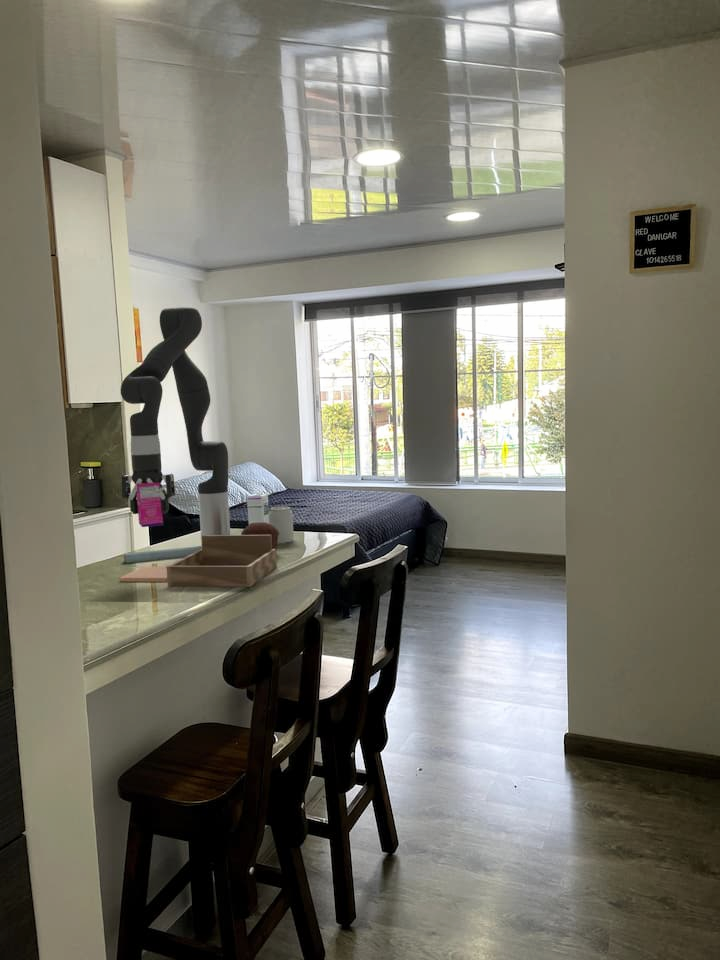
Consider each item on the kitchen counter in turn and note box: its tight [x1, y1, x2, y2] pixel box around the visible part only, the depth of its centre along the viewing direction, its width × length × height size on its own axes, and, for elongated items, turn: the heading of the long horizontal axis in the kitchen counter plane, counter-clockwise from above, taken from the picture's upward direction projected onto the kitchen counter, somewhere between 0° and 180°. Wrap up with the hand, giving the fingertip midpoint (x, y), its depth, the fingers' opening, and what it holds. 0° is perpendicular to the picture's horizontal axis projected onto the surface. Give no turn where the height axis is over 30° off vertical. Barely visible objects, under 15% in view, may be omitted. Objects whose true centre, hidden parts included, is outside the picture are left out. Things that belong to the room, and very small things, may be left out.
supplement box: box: [136, 483, 164, 528], centre depth 198 cm, size 6×6×12 cm
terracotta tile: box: [119, 566, 168, 583], centre depth 200 cm, size 13×13×1 cm
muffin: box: [240, 522, 280, 552], centre depth 220 cm, size 12×11×10 cm
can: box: [269, 506, 295, 544], centre depth 239 cm, size 8×8×12 cm
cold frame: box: [166, 534, 278, 588], centre depth 196 cm, size 22×22×9 cm
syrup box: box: [246, 493, 270, 525], centre depth 254 cm, size 6×6×14 cm
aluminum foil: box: [123, 545, 202, 564], centre depth 221 cm, size 23×7×3 cm, turn 108°
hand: (150, 513), depth 199 cm, fingers closed on supplement box, 8 cm apart
